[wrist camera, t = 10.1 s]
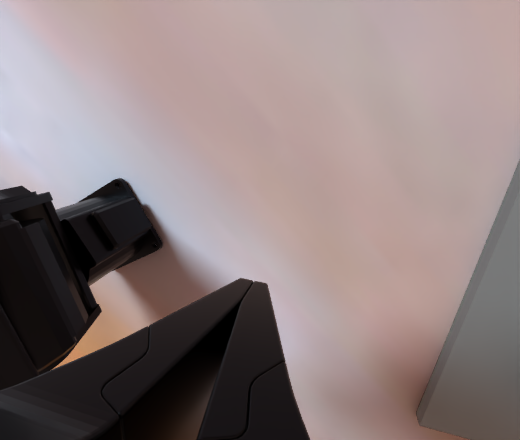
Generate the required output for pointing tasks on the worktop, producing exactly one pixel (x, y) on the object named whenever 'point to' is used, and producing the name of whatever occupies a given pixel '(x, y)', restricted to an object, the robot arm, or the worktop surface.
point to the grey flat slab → (483, 343)
